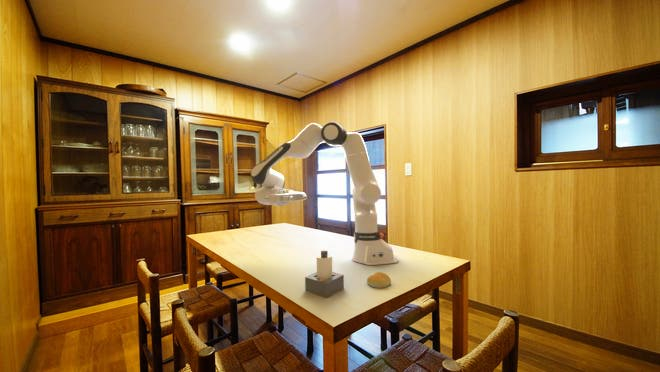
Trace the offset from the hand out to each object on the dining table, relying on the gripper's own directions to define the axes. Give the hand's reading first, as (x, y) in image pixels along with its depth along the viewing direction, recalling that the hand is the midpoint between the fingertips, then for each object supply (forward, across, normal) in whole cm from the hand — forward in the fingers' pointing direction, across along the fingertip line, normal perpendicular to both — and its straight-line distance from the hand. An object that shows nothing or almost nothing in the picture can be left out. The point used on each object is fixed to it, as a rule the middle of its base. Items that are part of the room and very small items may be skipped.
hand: (299, 197), depth 122 cm
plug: (+26, -13, +31) cm, 42 cm away
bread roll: (+39, +4, +32) cm, 51 cm away
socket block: (+26, -13, +32) cm, 43 cm away
